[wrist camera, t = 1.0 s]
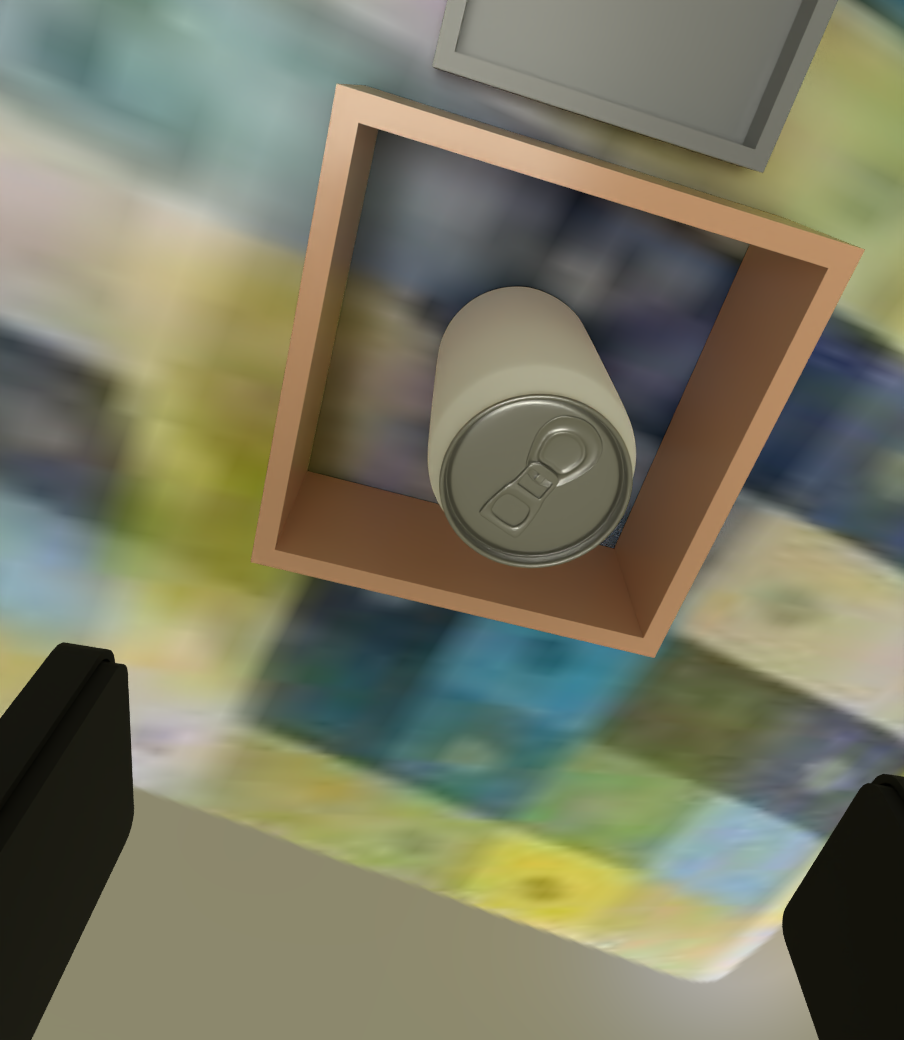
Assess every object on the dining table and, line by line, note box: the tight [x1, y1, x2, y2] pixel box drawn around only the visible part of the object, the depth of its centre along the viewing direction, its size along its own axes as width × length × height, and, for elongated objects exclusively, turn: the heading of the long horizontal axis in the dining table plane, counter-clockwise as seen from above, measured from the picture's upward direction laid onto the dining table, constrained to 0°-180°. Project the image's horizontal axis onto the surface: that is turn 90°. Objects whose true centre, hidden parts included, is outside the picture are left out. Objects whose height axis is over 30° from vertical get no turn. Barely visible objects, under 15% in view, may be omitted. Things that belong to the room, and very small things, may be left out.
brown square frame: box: [251, 84, 865, 658], centre depth 30 cm, size 17×17×7 cm
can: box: [428, 287, 636, 568], centre depth 28 cm, size 6×6×12 cm
